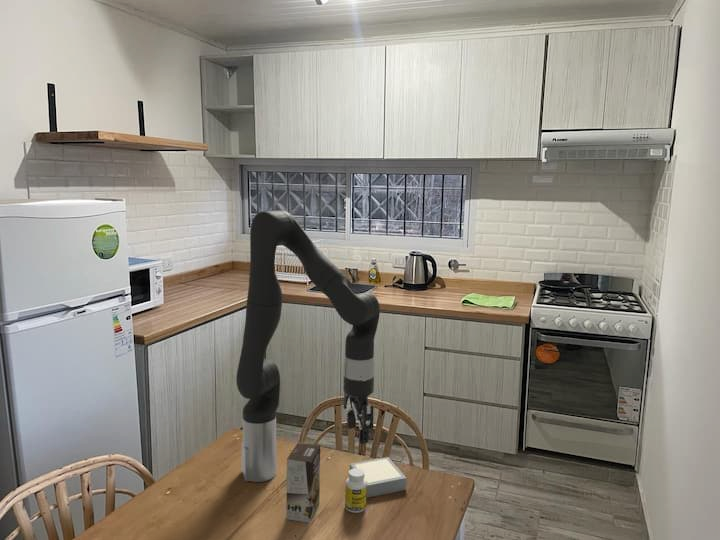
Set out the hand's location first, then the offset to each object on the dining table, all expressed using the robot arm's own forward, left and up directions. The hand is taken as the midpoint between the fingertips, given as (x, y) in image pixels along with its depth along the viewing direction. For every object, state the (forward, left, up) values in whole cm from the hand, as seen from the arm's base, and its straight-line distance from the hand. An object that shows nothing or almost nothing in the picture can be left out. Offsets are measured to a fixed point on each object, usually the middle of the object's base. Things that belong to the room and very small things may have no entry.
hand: (357, 435), depth 136 cm
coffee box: (-13, +3, -20) cm, 24 cm away
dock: (+10, +9, -20) cm, 24 cm away
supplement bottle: (0, 0, -20) cm, 20 cm away
